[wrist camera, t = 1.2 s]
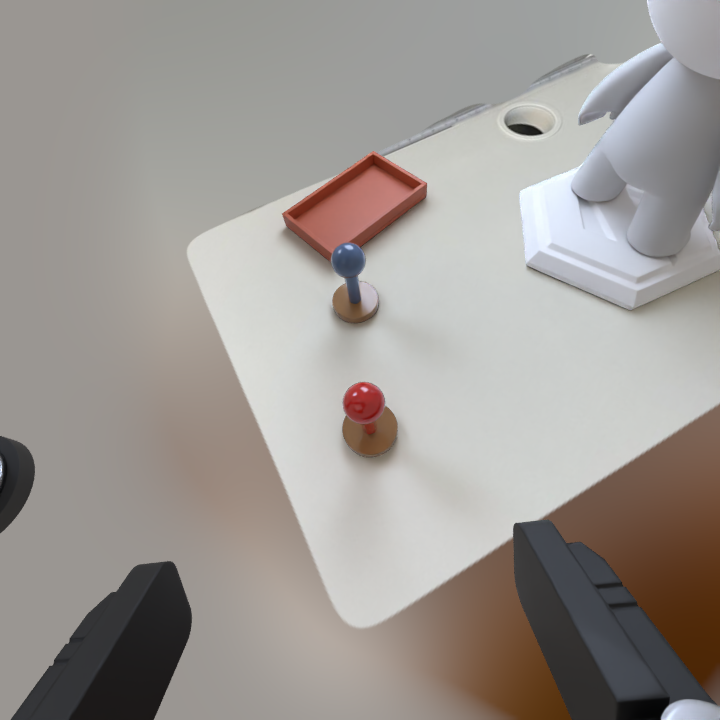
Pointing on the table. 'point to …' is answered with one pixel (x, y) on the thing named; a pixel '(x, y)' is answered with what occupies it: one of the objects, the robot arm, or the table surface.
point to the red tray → (355, 204)
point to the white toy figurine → (641, 171)
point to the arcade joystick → (368, 421)
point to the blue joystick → (352, 285)
